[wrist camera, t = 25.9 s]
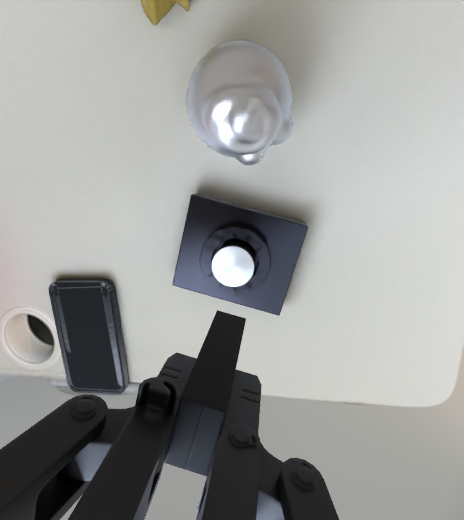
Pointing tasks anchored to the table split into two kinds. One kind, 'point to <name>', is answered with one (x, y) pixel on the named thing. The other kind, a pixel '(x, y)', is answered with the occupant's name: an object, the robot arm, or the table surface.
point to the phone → (90, 335)
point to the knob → (161, 8)
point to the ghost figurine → (240, 100)
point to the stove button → (233, 264)
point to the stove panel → (250, 233)
